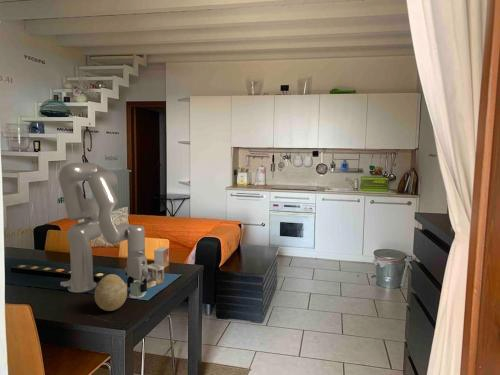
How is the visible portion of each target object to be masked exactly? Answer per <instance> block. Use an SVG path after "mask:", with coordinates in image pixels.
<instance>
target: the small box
mask: <svg viewBox="0 0 500 375" xmlns="http://www.w3.org/2000/svg"><path fill="white" fill-rule="evenodd" d="M169 250H170V248H169V247H167V246H166V247H165V246H162V247H161V246H160V247H157V249H155V250H153V253H154V254H153V257H154V258H153V261H154V262H153V264H156V265H159V266H163V267H164V269H165V268H166V267H168V266H170V251H169Z"/></svg>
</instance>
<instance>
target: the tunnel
mask: <svg viewBox="0 0 500 375" xmlns="http://www.w3.org/2000/svg"><path fill="white" fill-rule="evenodd" d="M147 266H148V270H150V274H149V275H150V276H153V275H155V281H153V282H150V283H147V289H149V288H153V287H154V286H158V285H161V284H163V283H165V268H164V267H163V266H159V265H156V264H154V262H152V263H149V264H147ZM159 271H160V274H161V279H158V274H159V273H158V272H159ZM143 279H144V278H143ZM136 281H139V279H134V282H136ZM160 283H161V284H160ZM157 284H158V285H157ZM125 285H126V287H127V282H126V283H125ZM127 289H128V287H127Z"/></svg>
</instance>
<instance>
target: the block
mask: <svg viewBox="0 0 500 375" xmlns="http://www.w3.org/2000/svg"><path fill="white" fill-rule="evenodd" d="M140 284H141V282H140V281H136V282H133V283H130V287H129V288H130V292H129V294H132V295H134V296H137V297H138V296H141V295H143V294H145V295H146V294H147V291H145V292H143V293H141V292H140Z"/></svg>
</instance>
